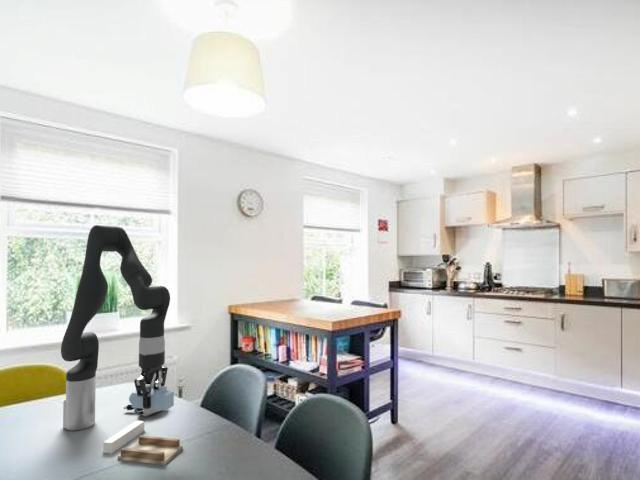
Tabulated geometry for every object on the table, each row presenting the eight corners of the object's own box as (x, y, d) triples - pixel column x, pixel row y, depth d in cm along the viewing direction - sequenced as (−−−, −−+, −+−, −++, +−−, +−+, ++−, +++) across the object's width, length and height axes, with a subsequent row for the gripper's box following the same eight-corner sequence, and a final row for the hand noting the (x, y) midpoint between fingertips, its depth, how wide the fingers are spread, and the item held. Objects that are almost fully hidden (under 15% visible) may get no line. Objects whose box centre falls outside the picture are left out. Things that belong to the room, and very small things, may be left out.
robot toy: (121, 415, 152) (144, 421, 144) (120, 403, 153) (143, 408, 145) (149, 405, 163) (172, 409, 155) (149, 394, 163) (172, 398, 155)
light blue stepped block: (126, 406, 121) (126, 388, 121) (134, 402, 125) (134, 384, 125) (166, 410, 118) (166, 391, 119) (173, 405, 122) (173, 387, 122)
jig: (117, 459, 118) (117, 449, 118) (138, 444, 127) (138, 434, 127) (164, 465, 115) (164, 454, 115) (182, 448, 124) (182, 439, 124)
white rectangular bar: (103, 453, 122) (103, 442, 122) (136, 430, 138) (136, 420, 138) (111, 454, 122) (111, 443, 122) (144, 431, 137) (144, 421, 137)
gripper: (155, 344, 130) (154, 396, 129) (125, 355, 116) (125, 413, 115) (175, 345, 128) (175, 397, 128) (148, 356, 114) (147, 415, 114)
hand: (151, 405), depth 122 cm, fingers closed on light blue stepped block, 4 cm apart
